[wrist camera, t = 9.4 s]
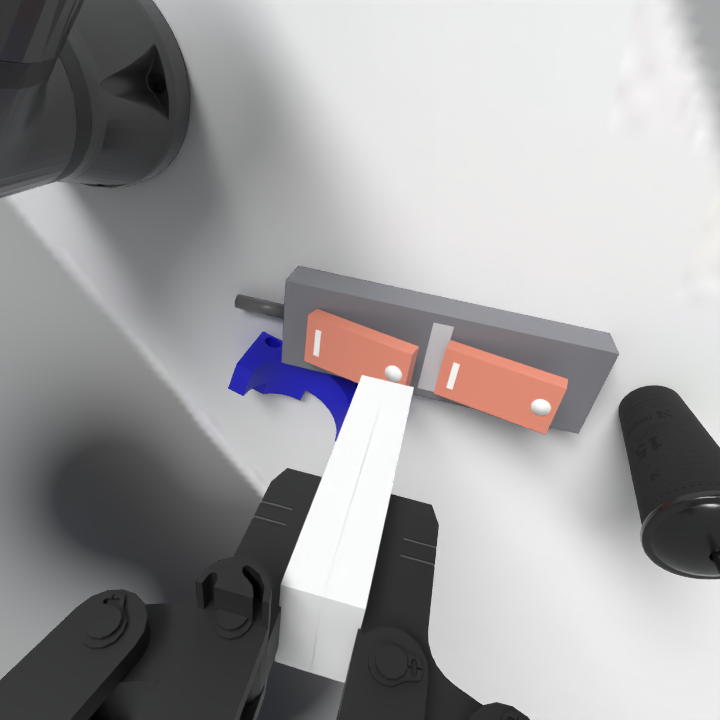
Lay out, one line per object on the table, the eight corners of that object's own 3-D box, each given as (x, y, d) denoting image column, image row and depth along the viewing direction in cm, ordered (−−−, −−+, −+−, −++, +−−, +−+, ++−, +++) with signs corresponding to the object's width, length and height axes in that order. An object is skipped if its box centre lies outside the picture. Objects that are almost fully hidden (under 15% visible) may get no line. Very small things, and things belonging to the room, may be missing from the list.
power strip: (243, 333, 47) (228, 350, 44) (243, 254, 42) (226, 267, 39) (572, 410, 43) (578, 434, 40) (610, 333, 39) (619, 354, 36)
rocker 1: (313, 353, 42) (303, 361, 41) (317, 308, 40) (307, 315, 38) (408, 392, 39) (401, 401, 38) (419, 346, 37) (411, 355, 36)
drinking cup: (724, 391, 39) (897, 637, 23) (663, 454, 44) (770, 699, 27) (635, 357, 39) (743, 576, 23) (583, 423, 44) (642, 648, 27)
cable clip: (250, 364, 49) (224, 400, 44) (263, 330, 46) (236, 363, 41) (358, 418, 49) (343, 458, 44) (376, 387, 47) (363, 426, 42)
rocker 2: (438, 384, 41) (433, 393, 39) (450, 340, 38) (445, 348, 37) (547, 424, 38) (545, 435, 37) (568, 379, 36) (566, 389, 34)
